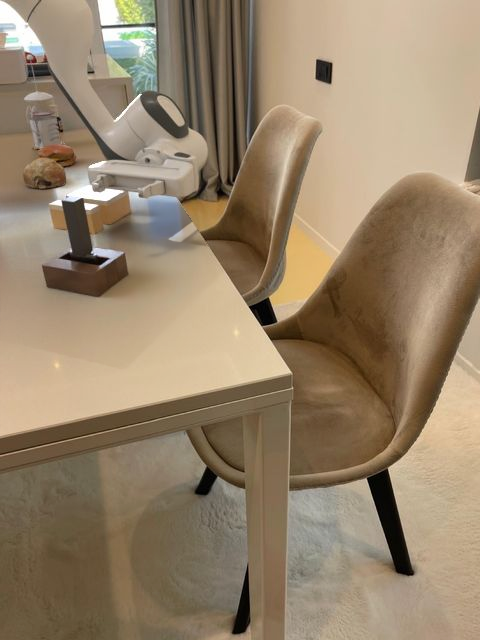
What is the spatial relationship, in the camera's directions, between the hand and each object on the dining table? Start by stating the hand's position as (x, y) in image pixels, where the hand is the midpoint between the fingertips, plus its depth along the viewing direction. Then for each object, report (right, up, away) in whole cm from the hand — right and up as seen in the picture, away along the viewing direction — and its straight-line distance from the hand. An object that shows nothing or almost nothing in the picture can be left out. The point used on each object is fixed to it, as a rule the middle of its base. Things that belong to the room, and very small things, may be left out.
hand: (118, 190), depth 97 cm
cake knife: (-4, -16, -3) cm, 17 cm away
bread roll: (-29, +14, +43) cm, 53 cm away
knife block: (-4, -16, -3) cm, 17 cm away
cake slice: (-12, -3, +17) cm, 21 cm away
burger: (-31, +24, +57) cm, 70 cm away
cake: (-10, +1, +23) cm, 25 cm away
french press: (-41, +34, +73) cm, 91 cm away
